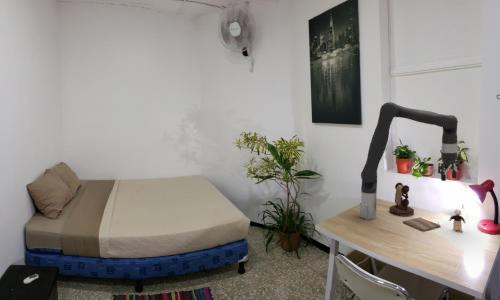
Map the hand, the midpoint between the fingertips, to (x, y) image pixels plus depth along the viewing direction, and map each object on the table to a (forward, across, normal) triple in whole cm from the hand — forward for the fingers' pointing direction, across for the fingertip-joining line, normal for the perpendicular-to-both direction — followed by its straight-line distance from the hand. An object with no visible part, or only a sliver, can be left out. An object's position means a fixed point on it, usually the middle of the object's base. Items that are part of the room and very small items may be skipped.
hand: (448, 179), depth 167 cm
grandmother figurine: (+30, -2, +3) cm, 30 cm away
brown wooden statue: (+29, +2, -30) cm, 42 cm away
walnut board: (+29, +8, -10) cm, 32 cm away
